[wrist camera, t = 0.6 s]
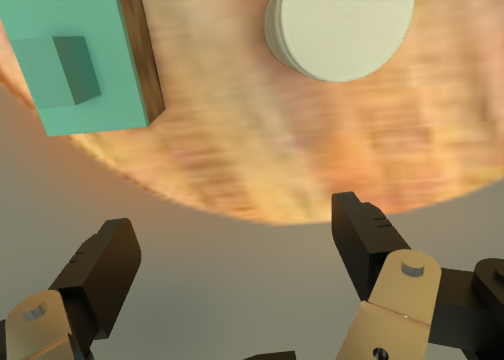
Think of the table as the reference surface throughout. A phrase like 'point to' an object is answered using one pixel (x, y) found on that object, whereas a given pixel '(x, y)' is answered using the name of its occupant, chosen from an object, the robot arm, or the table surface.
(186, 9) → the table surface
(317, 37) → the supplement tub
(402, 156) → the table surface
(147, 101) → the crate
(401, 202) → the table surface
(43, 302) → the robot arm
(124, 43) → the lid
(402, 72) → the table surface
